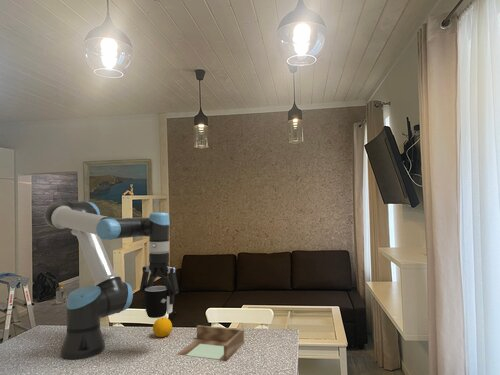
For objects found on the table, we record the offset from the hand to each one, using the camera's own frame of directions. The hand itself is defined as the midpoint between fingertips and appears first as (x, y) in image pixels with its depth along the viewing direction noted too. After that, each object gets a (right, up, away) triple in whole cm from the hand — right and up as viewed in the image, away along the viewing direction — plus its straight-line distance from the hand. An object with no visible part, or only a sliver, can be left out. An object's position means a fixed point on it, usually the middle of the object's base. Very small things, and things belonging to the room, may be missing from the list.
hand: (158, 311), depth 133 cm
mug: (0, -1, 0) cm, 1 cm away
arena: (+21, -14, -3) cm, 25 cm away
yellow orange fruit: (-2, -16, +15) cm, 22 cm away
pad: (+20, -12, -6) cm, 24 cm away
